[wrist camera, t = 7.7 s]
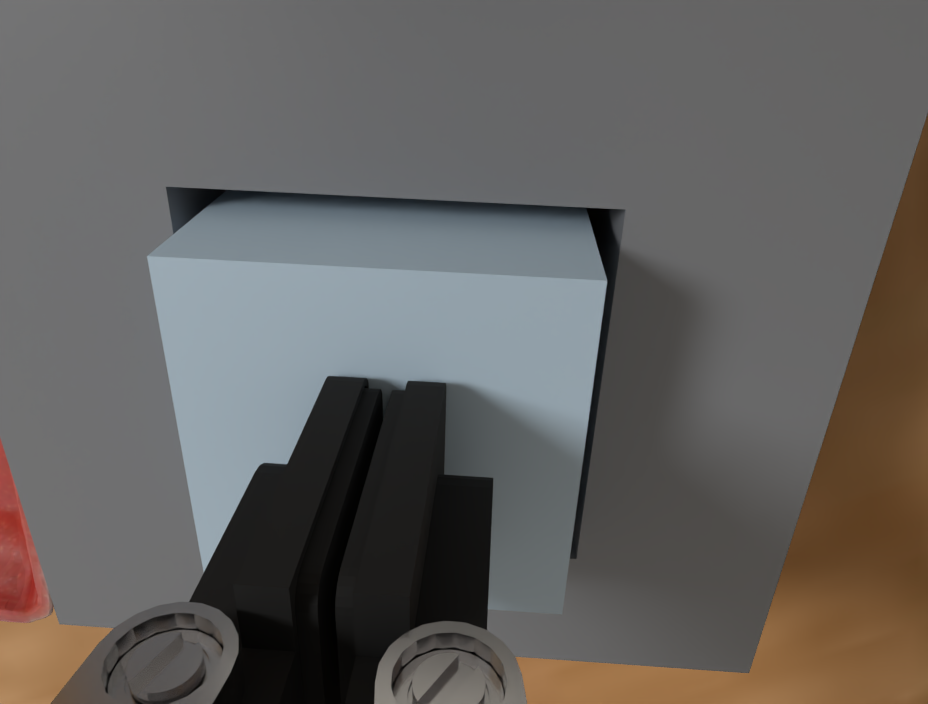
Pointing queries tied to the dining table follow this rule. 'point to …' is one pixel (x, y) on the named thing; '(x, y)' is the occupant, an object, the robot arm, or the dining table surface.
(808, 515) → the dining table surface
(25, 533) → the plant saucer
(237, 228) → the blue key
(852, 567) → the dining table surface
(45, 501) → the console
